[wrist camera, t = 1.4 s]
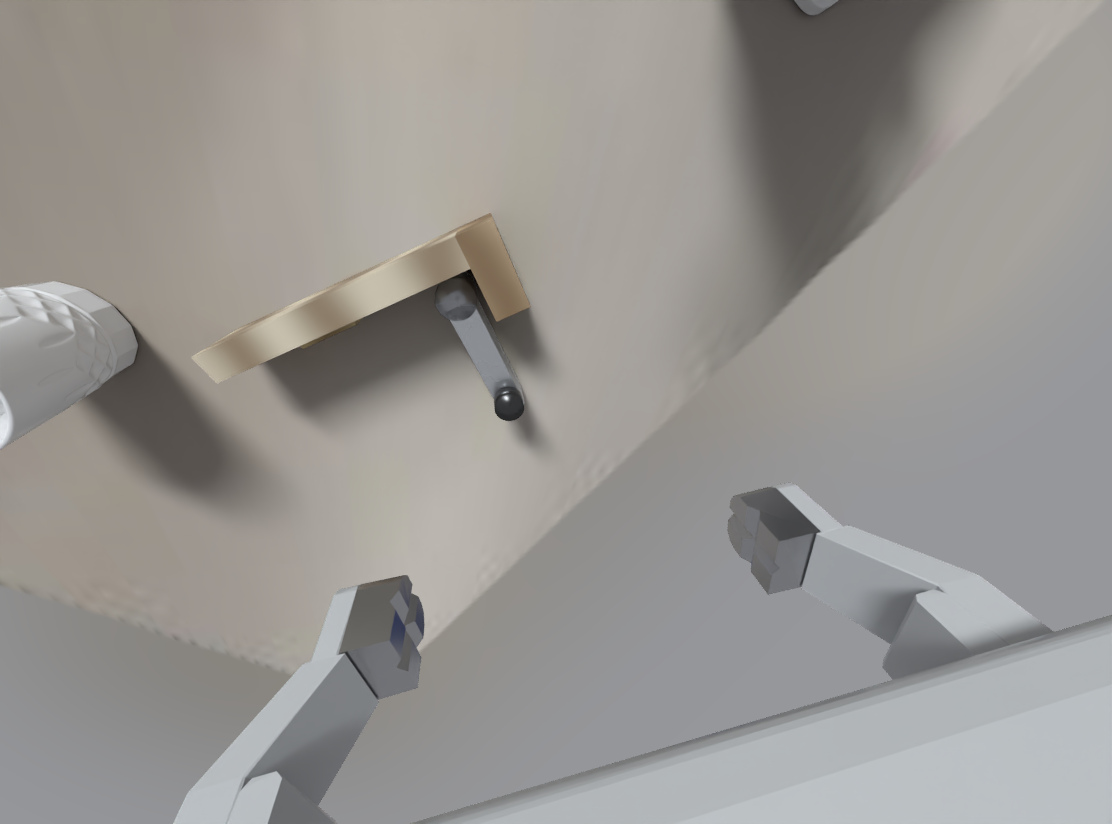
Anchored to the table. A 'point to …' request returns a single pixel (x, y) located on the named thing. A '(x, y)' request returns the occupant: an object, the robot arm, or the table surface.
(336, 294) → the wooden l-bracket
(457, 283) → the crank handle
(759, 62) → the table surface
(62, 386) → the white cup
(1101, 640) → the robot arm
